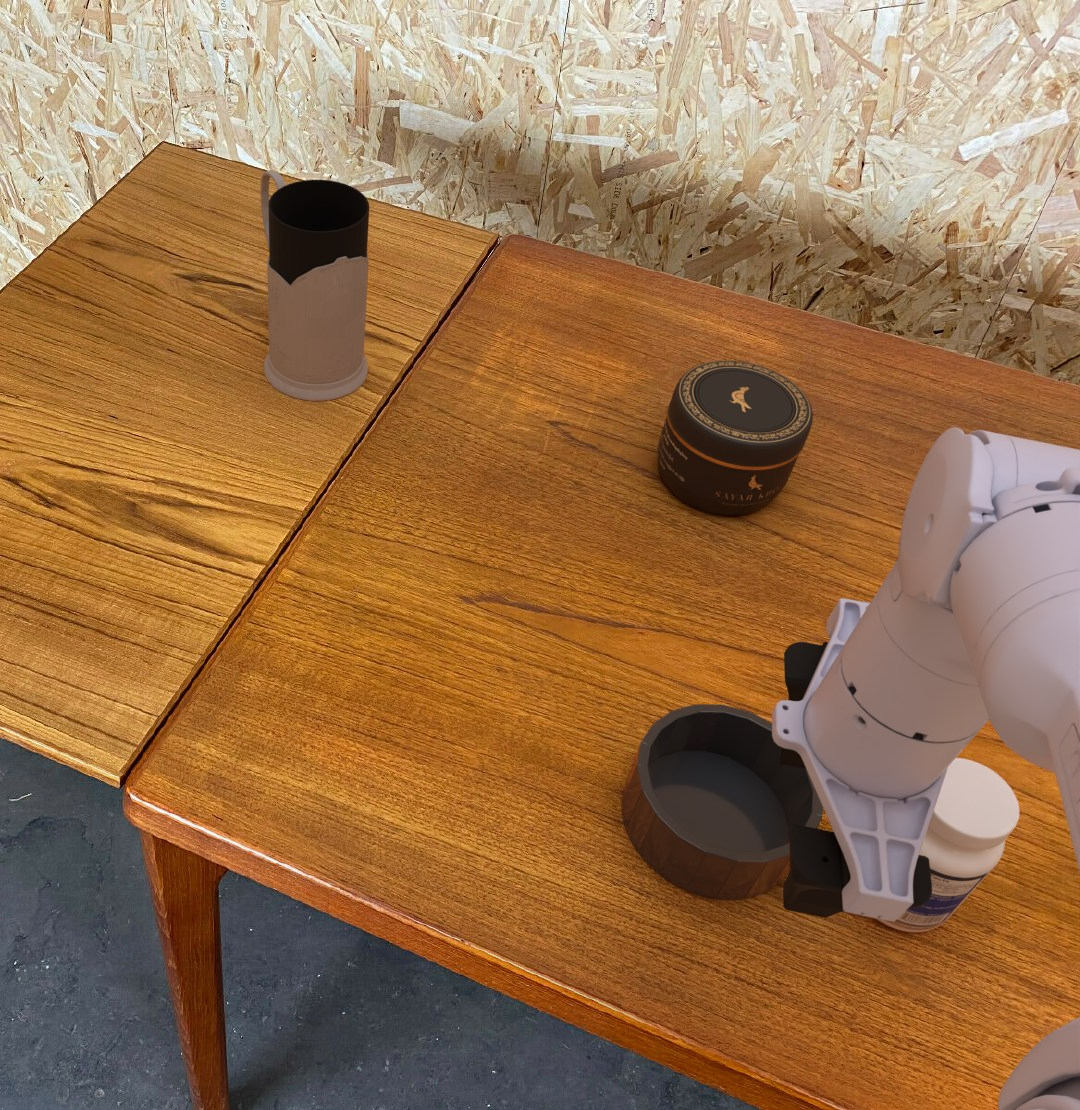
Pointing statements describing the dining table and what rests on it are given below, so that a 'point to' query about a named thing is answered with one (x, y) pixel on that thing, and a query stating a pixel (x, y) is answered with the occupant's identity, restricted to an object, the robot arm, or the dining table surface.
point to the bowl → (716, 802)
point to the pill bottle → (962, 840)
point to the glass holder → (315, 287)
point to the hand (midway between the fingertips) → (802, 831)
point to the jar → (732, 436)
